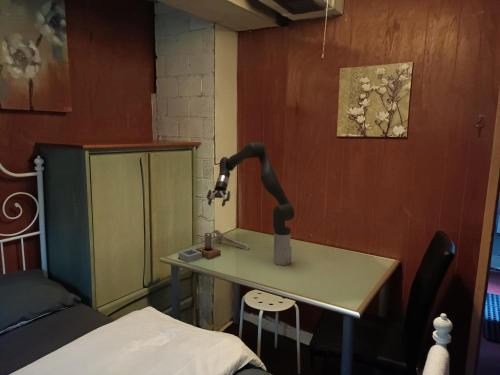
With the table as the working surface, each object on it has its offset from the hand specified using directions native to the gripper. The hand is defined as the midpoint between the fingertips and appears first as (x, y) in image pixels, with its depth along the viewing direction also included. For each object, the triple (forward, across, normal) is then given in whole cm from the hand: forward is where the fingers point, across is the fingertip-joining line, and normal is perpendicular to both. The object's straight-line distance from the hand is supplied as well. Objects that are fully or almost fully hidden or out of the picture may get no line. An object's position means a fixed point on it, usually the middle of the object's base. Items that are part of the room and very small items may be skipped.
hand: (216, 205), depth 224 cm
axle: (+28, -1, +11) cm, 30 cm away
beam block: (+28, -1, +11) cm, 30 cm away
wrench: (+14, +7, +26) cm, 30 cm away
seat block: (+34, -9, +5) cm, 35 cm away
